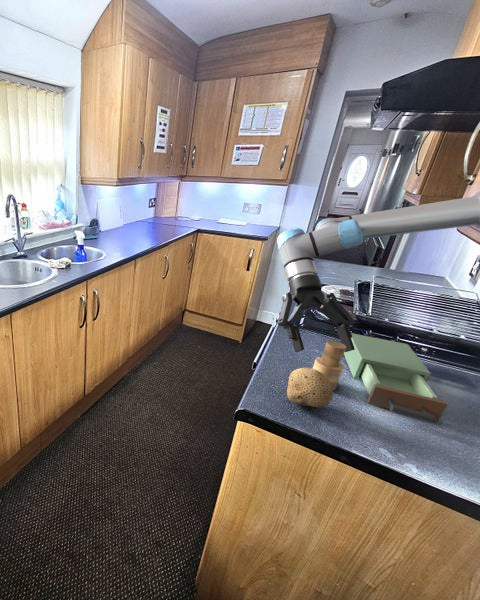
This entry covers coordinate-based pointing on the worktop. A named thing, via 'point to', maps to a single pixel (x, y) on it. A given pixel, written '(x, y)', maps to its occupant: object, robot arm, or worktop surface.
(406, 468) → the worktop surface
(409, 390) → the drawer
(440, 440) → the worktop surface
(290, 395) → the natural sponge
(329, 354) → the stepped wooden peg
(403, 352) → the cabinet
